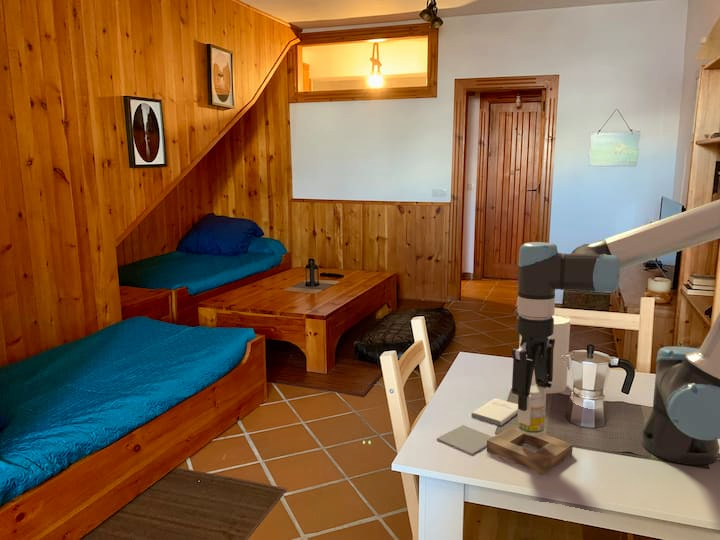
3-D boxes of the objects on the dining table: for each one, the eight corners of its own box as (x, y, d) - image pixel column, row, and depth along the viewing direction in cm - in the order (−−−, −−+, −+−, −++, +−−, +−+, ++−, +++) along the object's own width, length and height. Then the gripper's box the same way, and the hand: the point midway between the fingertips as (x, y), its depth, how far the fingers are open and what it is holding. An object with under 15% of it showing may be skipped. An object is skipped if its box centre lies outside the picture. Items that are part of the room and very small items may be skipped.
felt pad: (498, 440, 131) (498, 438, 131) (472, 455, 124) (472, 453, 124) (462, 426, 138) (463, 425, 138) (436, 439, 131) (436, 438, 131)
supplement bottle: (546, 436, 121) (548, 394, 119) (520, 436, 122) (522, 393, 120) (540, 425, 126) (542, 384, 125) (516, 425, 127) (517, 384, 125)
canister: (573, 393, 158) (577, 324, 155) (524, 393, 158) (527, 324, 155) (557, 376, 171) (561, 312, 168) (512, 376, 172) (515, 312, 168)
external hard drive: (471, 418, 144) (494, 402, 153) (500, 427, 139) (522, 410, 148) (471, 412, 144) (494, 397, 153) (501, 421, 138) (523, 405, 148)
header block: (572, 454, 124) (572, 444, 124) (543, 474, 116) (544, 463, 116) (516, 433, 134) (516, 423, 134) (486, 450, 126) (486, 440, 126)
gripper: (541, 305, 128) (537, 402, 132) (495, 320, 116) (492, 426, 120) (573, 311, 123) (568, 411, 127) (528, 327, 111) (524, 438, 115)
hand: (531, 418), depth 123 cm, fingers closed on supplement bottle, 5 cm apart
